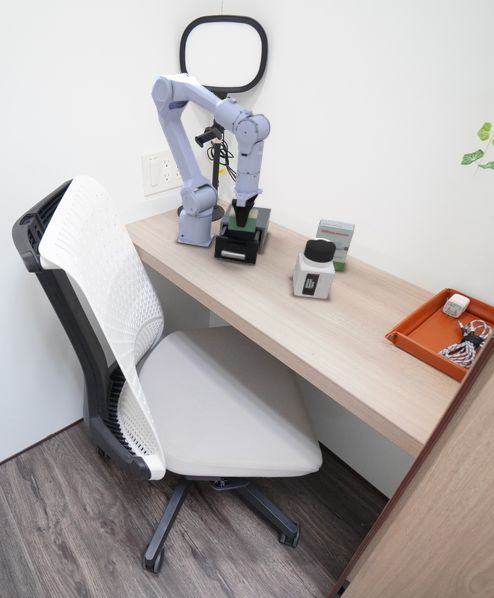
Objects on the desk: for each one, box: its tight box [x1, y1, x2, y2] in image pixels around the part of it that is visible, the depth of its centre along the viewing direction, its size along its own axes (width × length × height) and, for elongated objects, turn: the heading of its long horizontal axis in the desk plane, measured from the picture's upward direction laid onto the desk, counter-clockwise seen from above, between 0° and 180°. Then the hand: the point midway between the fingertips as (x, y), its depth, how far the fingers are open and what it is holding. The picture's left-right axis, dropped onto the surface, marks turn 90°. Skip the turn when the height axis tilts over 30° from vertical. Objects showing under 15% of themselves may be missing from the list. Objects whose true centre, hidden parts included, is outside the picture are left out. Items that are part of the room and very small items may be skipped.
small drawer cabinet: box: [218, 203, 272, 254], centre depth 108 cm, size 14×13×8 cm
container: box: [292, 237, 336, 300], centre depth 86 cm, size 8×8×13 cm
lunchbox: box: [228, 207, 258, 232], centre depth 96 cm, size 7×4×4 cm, turn 75°
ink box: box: [315, 218, 355, 272], centre depth 96 cm, size 9×5×12 cm, turn 66°
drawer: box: [213, 225, 261, 266], centre depth 99 cm, size 17×11×6 cm
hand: (242, 222), depth 96 cm, fingers closed on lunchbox, 4 cm apart
